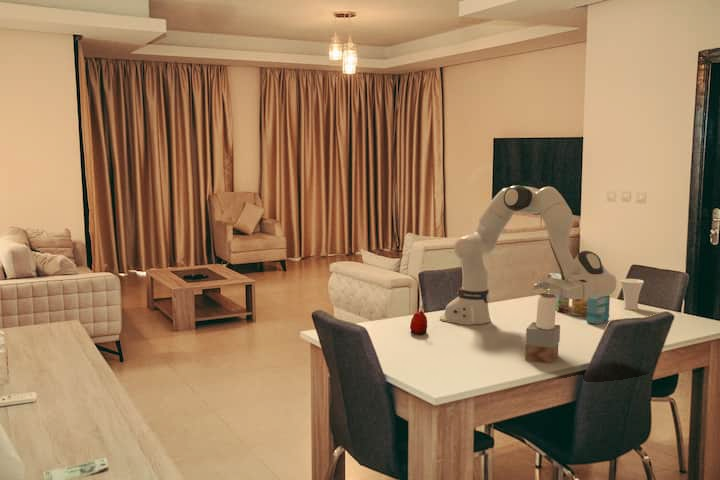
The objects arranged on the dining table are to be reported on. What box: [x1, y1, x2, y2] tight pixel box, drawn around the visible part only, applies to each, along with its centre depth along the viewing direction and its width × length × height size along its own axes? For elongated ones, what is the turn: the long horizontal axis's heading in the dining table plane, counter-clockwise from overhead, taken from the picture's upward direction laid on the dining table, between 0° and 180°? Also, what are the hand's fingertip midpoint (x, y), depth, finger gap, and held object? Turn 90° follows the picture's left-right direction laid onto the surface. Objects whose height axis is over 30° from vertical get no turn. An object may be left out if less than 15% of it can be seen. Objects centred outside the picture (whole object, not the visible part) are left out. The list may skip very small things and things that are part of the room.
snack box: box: [547, 272, 570, 313], centre depth 337 cm, size 21×6×15 cm, turn 179°
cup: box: [619, 278, 645, 311], centre depth 333 cm, size 10×10×14 cm
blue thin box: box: [586, 295, 611, 325], centre depth 309 cm, size 12×4×12 cm, turn 134°
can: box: [535, 292, 557, 330], centre depth 252 cm, size 6×6×12 cm
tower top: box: [525, 321, 561, 348], centre depth 256 cm, size 10×10×6 cm
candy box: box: [571, 299, 587, 317], centre depth 321 cm, size 9×4×15 cm, turn 68°
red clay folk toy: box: [409, 298, 428, 335], centre depth 291 cm, size 8×7×15 cm
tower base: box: [524, 343, 559, 365], centre depth 257 cm, size 10×10×6 cm
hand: (541, 289), depth 254 cm, fingers open, 8 cm apart
